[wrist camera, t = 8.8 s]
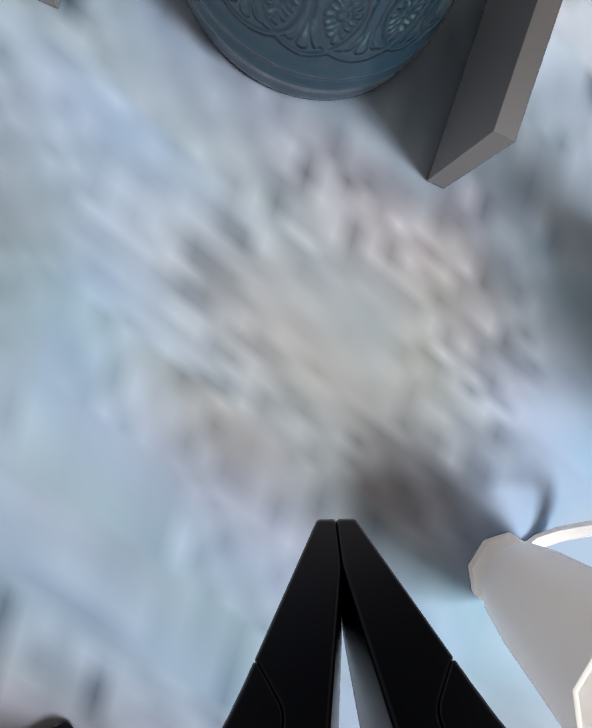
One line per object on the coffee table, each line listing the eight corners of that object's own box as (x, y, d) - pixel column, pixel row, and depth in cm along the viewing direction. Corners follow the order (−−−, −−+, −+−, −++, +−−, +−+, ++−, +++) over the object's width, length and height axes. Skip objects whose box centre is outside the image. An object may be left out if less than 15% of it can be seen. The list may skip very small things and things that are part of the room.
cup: (424, 561, 22) (540, 691, 14) (557, 454, 23) (736, 518, 15) (483, 649, 23) (621, 816, 15) (607, 544, 24) (797, 647, 16)
